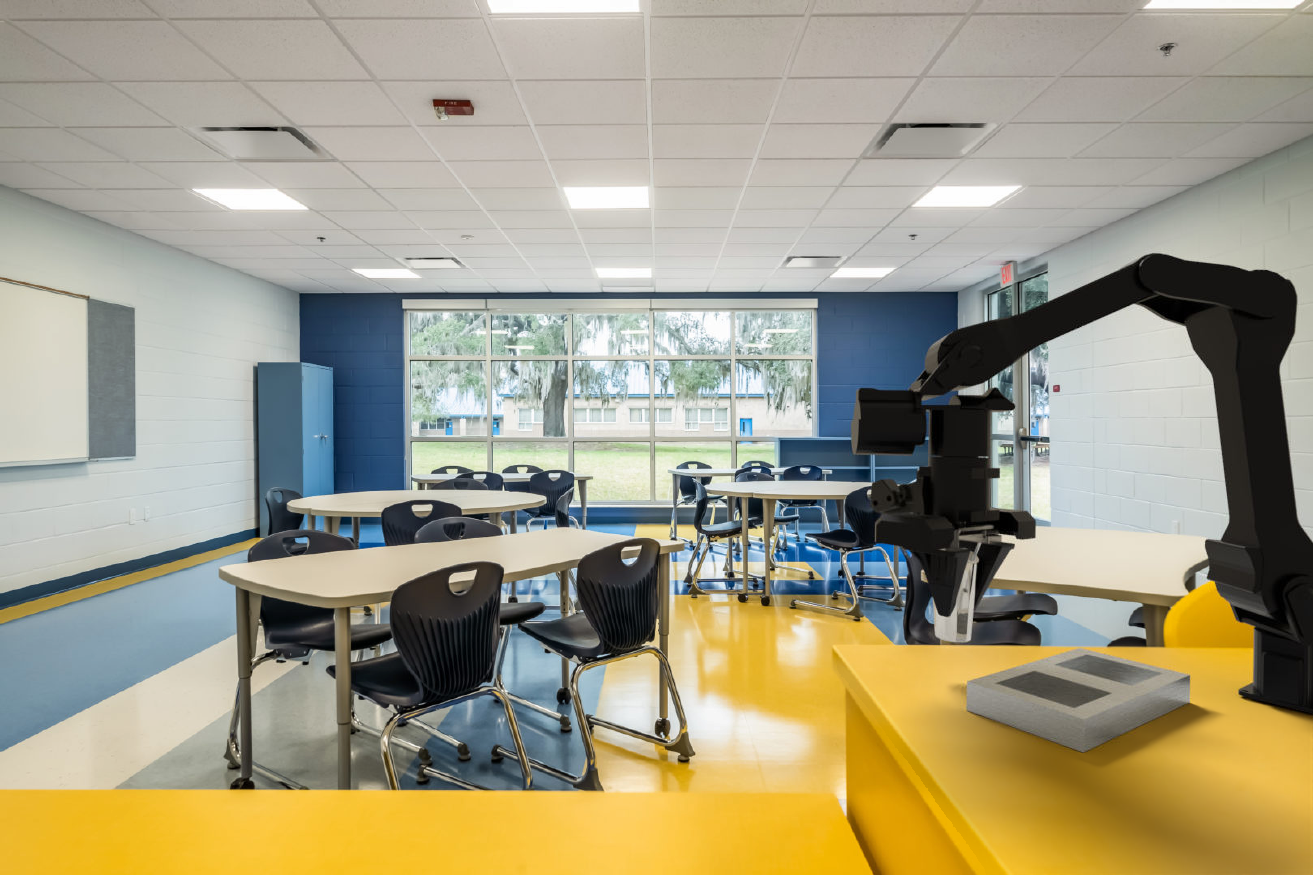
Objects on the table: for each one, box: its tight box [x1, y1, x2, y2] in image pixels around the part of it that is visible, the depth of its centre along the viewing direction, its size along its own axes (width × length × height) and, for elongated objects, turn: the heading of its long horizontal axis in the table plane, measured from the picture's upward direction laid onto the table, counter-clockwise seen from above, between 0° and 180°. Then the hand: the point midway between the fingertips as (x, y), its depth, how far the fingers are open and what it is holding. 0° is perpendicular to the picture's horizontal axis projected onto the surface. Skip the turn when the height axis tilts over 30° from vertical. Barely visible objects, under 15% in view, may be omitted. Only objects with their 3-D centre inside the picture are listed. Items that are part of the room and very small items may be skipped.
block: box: [965, 647, 1191, 753], centre depth 61 cm, size 20×10×2 cm, turn 124°
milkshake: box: [932, 542, 981, 643], centre depth 68 cm, size 4×5×10 cm
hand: (956, 613), depth 68 cm, fingers closed on milkshake, 4 cm apart
